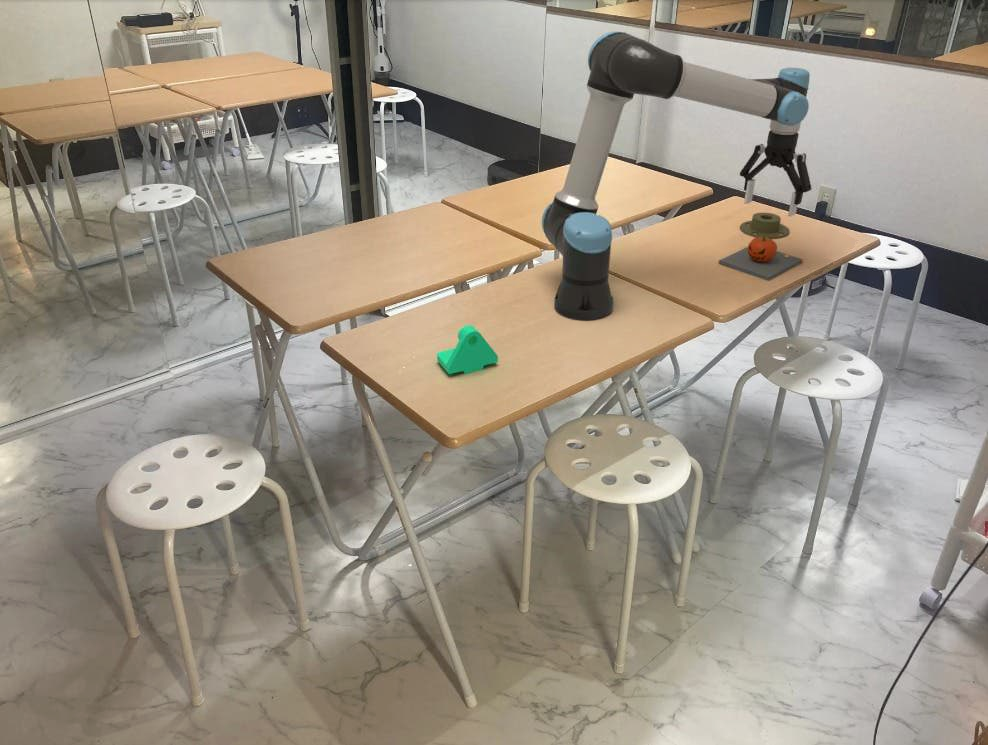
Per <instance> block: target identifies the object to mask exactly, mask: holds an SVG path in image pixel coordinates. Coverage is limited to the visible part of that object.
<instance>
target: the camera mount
mask: <svg viewBox="0 0 988 745" xmlns="http://www.w3.org/2000/svg"><path fill="white" fill-rule="evenodd" d="M457 338H458V342H457V344H456V345H455V348H450V349H446V350H442V351H439V352H436V357H437V358H436V360H437V362H438V363H439V364H440V365H441V367H442V368H443V369H444V370H445V371H446V372H447V374H448V375H452V374H455V373H460V372H462V373H463V374H464V375H465V374H469V373H474V372H477V371H482V370H484V367H485V366H486V365H491V364H495V363H498V362H499V356H498V354H497V353H496V352H495V351H494V349H493V348H492V347H491V345H490V344H489V343H488V342H487V340H486V339H485V338H484V337H483V335H482V334H481V332H480V331H478V330H477V329H476V327H474V326H473V325H470V324H469V325H468V324H467V325H464V326H462V327H461V328H460V329H459V331H458V334H457Z"/></svg>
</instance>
